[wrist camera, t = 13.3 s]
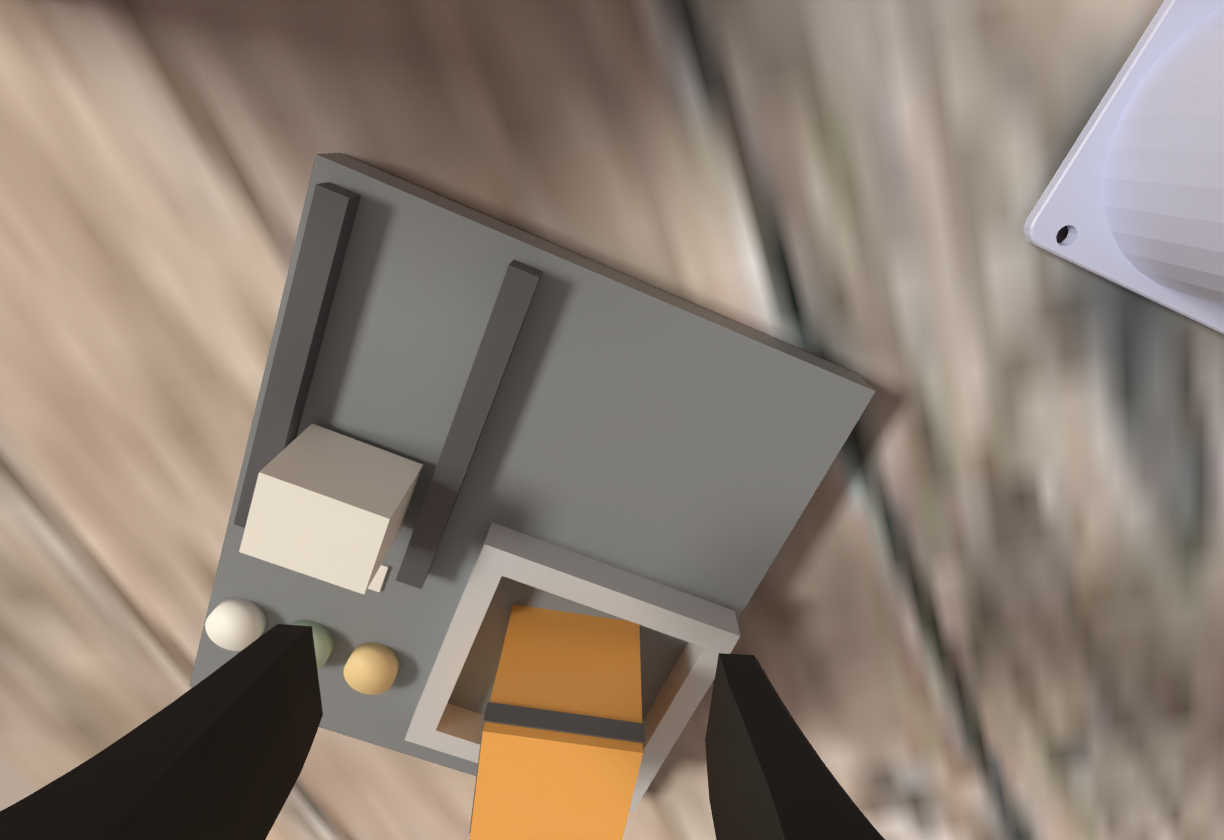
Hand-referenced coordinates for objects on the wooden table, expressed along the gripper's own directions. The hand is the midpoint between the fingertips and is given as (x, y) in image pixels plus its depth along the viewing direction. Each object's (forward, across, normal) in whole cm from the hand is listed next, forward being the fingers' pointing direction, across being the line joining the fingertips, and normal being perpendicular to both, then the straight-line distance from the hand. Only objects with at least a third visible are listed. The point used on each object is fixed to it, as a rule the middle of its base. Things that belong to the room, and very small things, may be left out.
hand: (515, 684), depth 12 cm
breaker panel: (+10, +2, +3) cm, 10 cm away
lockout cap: (+8, 0, +7) cm, 11 cm away
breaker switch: (+8, +6, 0) cm, 10 cm away
